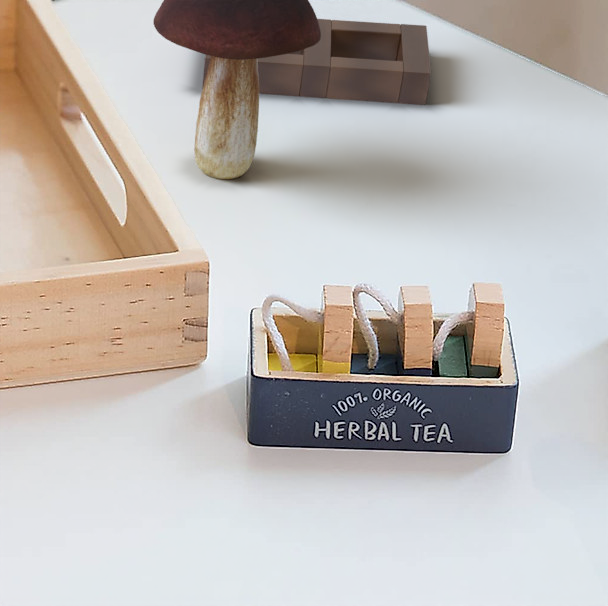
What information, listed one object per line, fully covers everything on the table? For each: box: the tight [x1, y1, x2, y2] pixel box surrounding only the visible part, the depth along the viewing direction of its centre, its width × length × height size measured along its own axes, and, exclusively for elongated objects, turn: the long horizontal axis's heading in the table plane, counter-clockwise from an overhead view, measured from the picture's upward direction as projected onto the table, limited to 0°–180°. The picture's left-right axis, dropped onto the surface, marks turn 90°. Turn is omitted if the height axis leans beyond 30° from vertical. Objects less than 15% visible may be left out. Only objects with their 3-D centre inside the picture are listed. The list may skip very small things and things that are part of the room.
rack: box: [201, 18, 432, 106], centre depth 119 cm, size 17×9×3 cm, turn 80°
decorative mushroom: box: [153, 0, 321, 180], centre depth 102 cm, size 11×11×15 cm
